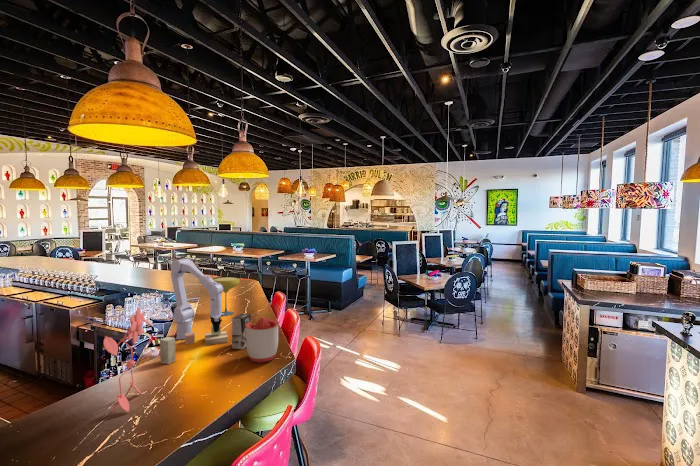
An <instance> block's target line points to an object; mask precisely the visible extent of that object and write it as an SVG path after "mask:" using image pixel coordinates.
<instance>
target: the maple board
mask: <svg viewBox="0 0 700 466" xmlns="http://www.w3.org/2000/svg"><path fill="white" fill-rule="evenodd" d="M204 343H205V345H206V346H212V344H213V345H219V344H226V343H228V332H227V331H226V330H222V331H221V334H219V335H212V334H211V332H205V333H204Z"/></svg>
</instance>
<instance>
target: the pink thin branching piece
mask: <svg viewBox="0 0 700 466" xmlns="http://www.w3.org/2000/svg"><path fill="white" fill-rule="evenodd" d="M129 322H130V327H129V329H128V330H127V332H126V333H125V334H124V336H123V338H121V339H120V341H119V342H117V341H116V340H114V338H112V337H109V336H107V335H106V336H104V339H103V347H104V349H105V351H107V353H109V354H110V355H112V356H115V357H117V355H118V352H119V346H120V344H121V343H124V344H125V345H126V346H127V347H129V349H130V358H131V359H130V360H128V361H127V362H126V364H125V366H126V370H125V371H124V372H123V373H122V374H121V375H120V376H119V377H118V383H119V385H118V386H119V393H118V394H117V397H116V399H117V400H116V402H115V404H114V406H113V408H112V410H111V413H113V412H114V411H115V409H116V407H117V406H118V405H119V407H120V409H122V410H123V411H125V412H126V413H127V412H129V413H130V403H129V400H128V398H127V396H128V394H129V392H130V391H131V389H132V388H133V389H134V390H135V391H136V392H137V393H139V394H140V395H142V394H143V393H142V392H141V391H140V389H139V388H138V387H137V386H136V385H135V382H134V376H133V367H134V366H135V365H136V361H135V360H134V359H133V357H134V356H133V349H134V348H133V347H132V346H131V345H130V344H129V343H127V341H131V339H132V345H135V344H136V342H137V341H138V340H139V336H141V335H142V334H143V332H144V329H143V323H146V324H147V325H149V326H153V325H152V323H150V322H149V321H148V320H147V319H146V318H145V312H144V311H142V312H141V308H140V307H137V310H135V312H134V314H131V315H130V317H129ZM126 340H127V341H126ZM129 369H130V374H131V381H130V382H129V383H130V385H129V388H128V390H127V391H126V393H125V395H124V394H123V393H122V383H121V378H123V376H124V375H125V373H127V371H128V370H129Z"/></svg>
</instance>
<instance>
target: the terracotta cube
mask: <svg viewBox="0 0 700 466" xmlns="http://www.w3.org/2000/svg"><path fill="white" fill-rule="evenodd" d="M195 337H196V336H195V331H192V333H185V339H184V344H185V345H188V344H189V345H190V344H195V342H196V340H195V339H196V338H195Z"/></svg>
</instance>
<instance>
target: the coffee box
mask: <svg viewBox="0 0 700 466" xmlns="http://www.w3.org/2000/svg"><path fill="white" fill-rule="evenodd" d="M248 322H251V323H252V314H251V313H239V314H238V315H235V316H233V317H231V348H232V349H236V350H237V349H238V350H244V349H245V348H247V346H246V324H247V323H248Z"/></svg>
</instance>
